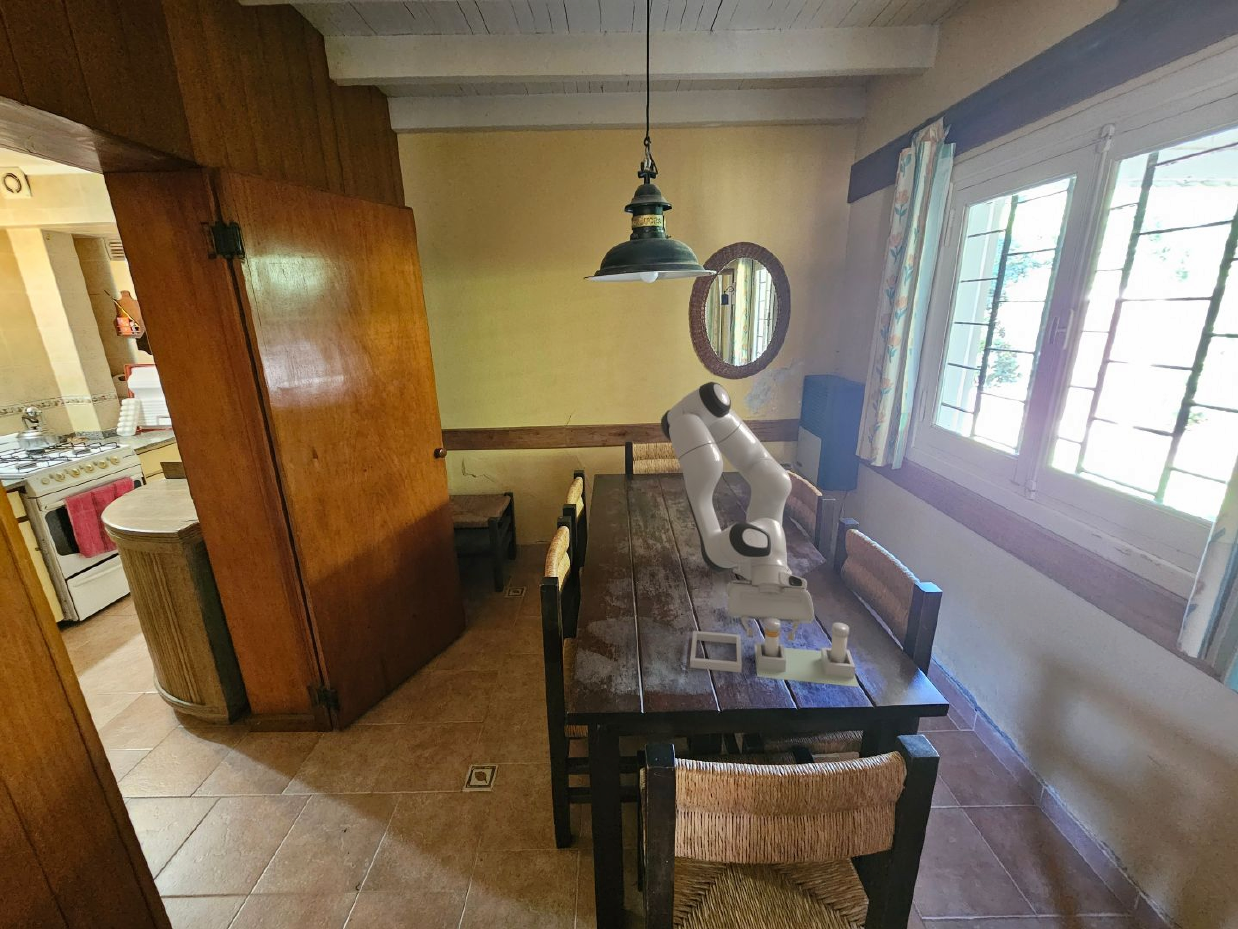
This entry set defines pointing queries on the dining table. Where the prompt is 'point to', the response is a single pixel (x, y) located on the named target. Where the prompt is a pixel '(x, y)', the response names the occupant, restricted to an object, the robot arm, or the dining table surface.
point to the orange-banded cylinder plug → (771, 637)
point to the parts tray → (716, 663)
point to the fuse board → (805, 666)
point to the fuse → (839, 642)
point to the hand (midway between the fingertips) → (770, 639)
